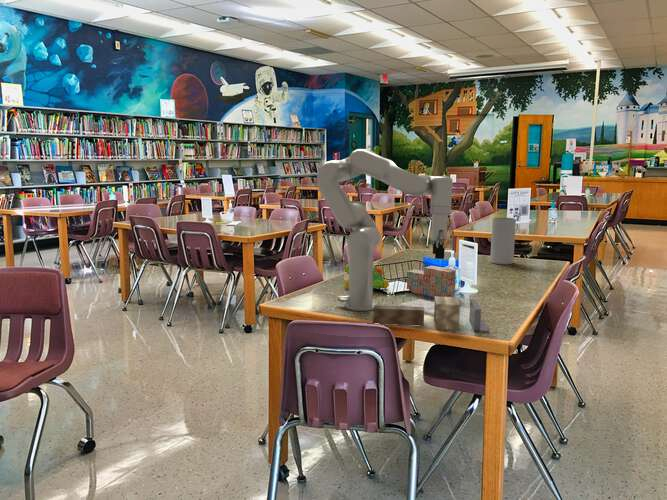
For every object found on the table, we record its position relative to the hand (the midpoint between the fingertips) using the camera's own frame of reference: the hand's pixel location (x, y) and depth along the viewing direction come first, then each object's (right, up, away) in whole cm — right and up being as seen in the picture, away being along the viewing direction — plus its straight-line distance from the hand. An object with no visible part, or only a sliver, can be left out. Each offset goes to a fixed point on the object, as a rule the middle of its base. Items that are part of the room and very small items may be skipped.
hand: (438, 256), depth 216 cm
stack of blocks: (+3, -17, +38) cm, 42 cm away
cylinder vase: (+56, -5, +113) cm, 126 cm away
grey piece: (+13, -25, -9) cm, 29 cm away
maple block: (+1, -25, -7) cm, 26 cm away
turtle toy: (-25, -15, +50) cm, 58 cm away
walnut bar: (-15, -24, -5) cm, 29 cm away
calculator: (-1, -22, +14) cm, 26 cm away
